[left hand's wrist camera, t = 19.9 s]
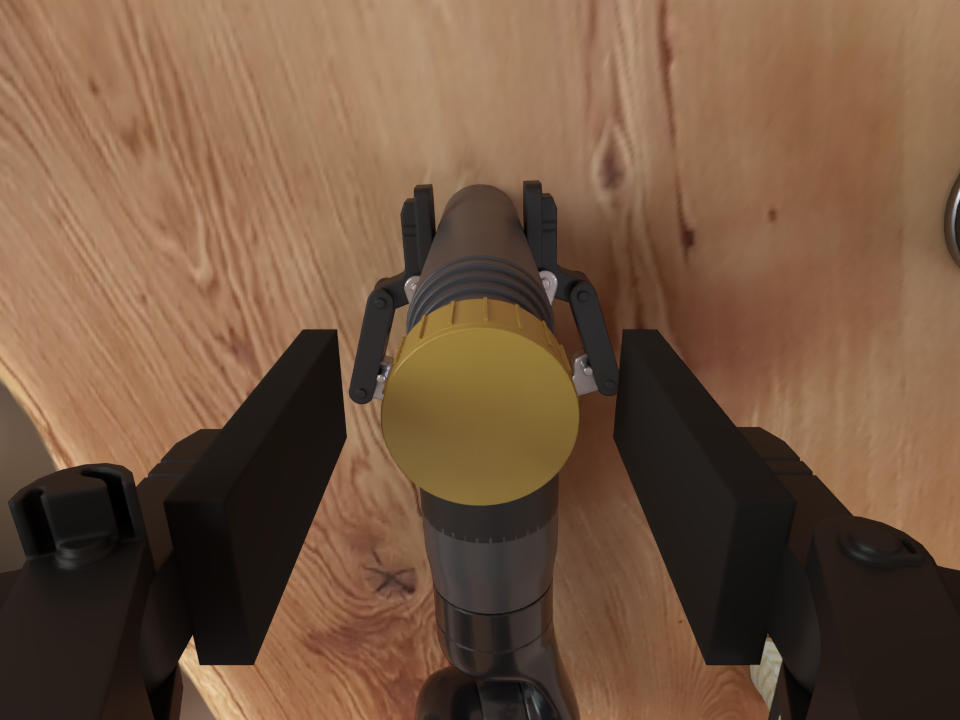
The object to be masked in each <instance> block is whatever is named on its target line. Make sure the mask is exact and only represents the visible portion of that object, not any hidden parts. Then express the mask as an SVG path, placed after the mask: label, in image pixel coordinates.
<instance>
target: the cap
mask: <svg viewBox="0 0 960 720" xmlns="http://www.w3.org/2000/svg"><path fill="white" fill-rule="evenodd" d="M571 373H572V370H571V367H570V364H569V361H568V359H567V356H566V353H565V350H564V347H563V345H562V344H561V345H559V343H558V341H557V339H556V338H555V337H554V335H553V334H552V332H551V331H550V330H549V329H548V328H547V325H546V322H545V321H544V320H543V321H542V322H541V321H540V320H539V319H538V318H536V317H535V316H534V315H532V314H531V313H529V312H527V311H526V310H524V309H522V308H520V307H519V305H518V304H515V305H513V304H510V303H506V302H503V301H498V300H492V299H487V297H483V299H469V300H463V301H458V302H455V301H451V304H448V305H446V306H443V307H441V308H439V309H437V310H435V311H433V312H431V313H430V314H429V315H427V316H426V315H423V316H422V320H421V321H420V322H419V323H417V324H416V325H415V326H414V327H413V329H412V330H411V331H410V332H409V333H408V335H407V336H406V338H405V337H404V336H403V338H402V340H401V343H400V345H399V348H398V351H397V354H396V357H395V360H394V363H393V364H392V365H391V367H390V370H389V373H388V376H387V379H386V382H385V384H384V387H383V390H382V394H384V396H383V400H382V406H381V427H382V432H383V437H384V440H385V443H386V446H387V448H388V450H389V452H390V454H391V456H392V458H393V460H394V461H395V463H396V464H397V466H398V467H399V468H400V469H401V471H402V472H403V473H404V474H405V475H406V476H407V477H408V478H409V479H410V480H411V481H413V482H414V483H415V484H416V485H418V486H419V487H421V488H422V489H424V490H425V491H427V492H429V493H431V494H433V495H435V496H437V497H439V498H442V499H445V500H447V501H451V502H455V503H459V504H466V505H482V506H484V505H496V504H501V503H506V502H510V501H513V500H516V499H519V498H522V497H524V496H526V495H528V494H531V493H532V492H534V491H536V490H537V489H539V488H541V487H542V486H543V485H545V484H546V483H547V482H548V481H550V480H551V479H552V478H553V477H554V476H555V475H556V474H557V473H558V472H559V471H560V469H561V468H562V467H563V465H564V464H565V463H566V461H567V459H568V458H569V456H570V454H571V453H572V450H573V448H574V445H575V443H576V440H577V436H578V432H579V426H580V406H579V404H580V399H579V396H578V393H577V390H576V387H575V384H574V382H573V379H572V376H571Z"/></svg>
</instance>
